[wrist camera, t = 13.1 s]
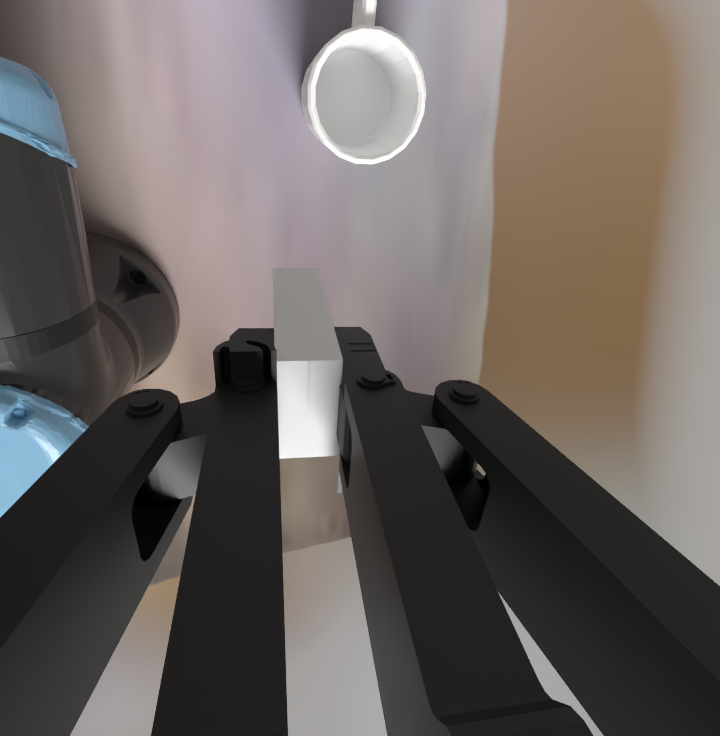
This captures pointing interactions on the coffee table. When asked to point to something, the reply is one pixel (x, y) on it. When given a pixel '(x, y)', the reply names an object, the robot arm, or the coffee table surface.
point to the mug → (364, 91)
